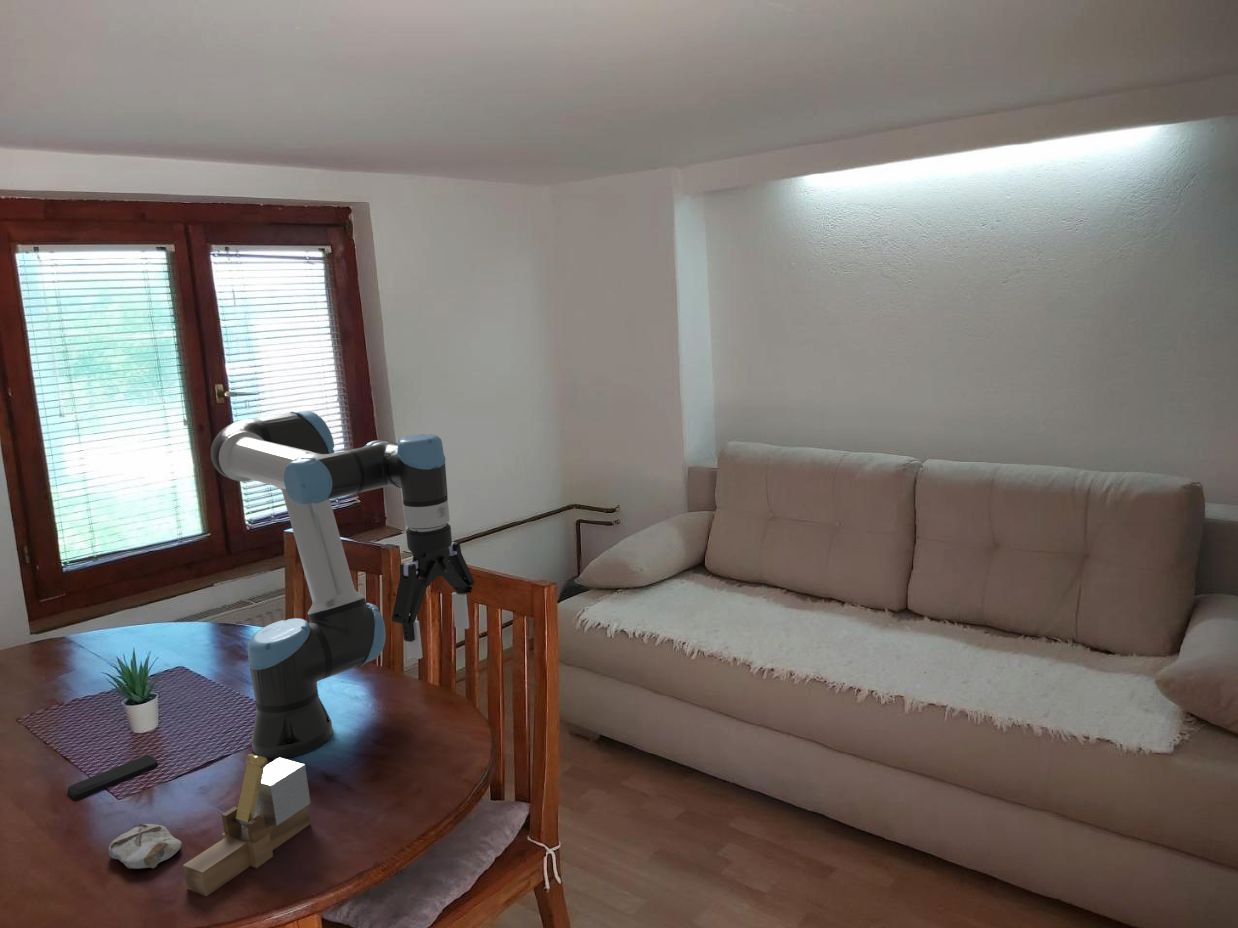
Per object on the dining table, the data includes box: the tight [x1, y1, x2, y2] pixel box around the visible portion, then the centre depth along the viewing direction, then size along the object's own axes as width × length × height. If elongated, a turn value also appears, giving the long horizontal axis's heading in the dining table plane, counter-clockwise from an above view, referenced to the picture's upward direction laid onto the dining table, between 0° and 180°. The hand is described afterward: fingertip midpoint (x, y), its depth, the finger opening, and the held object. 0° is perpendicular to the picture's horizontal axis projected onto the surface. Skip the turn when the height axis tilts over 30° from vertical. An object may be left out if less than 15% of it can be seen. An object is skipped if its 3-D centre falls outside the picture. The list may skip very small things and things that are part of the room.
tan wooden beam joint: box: [182, 805, 311, 898], centre depth 145 cm, size 7×20×7 cm, turn 151°
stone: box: [108, 823, 182, 870], centre depth 148 cm, size 12×9×3 cm
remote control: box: [67, 754, 159, 801], centre depth 173 cm, size 5×2×15 cm
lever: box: [232, 753, 269, 827], centre depth 145 cm, size 4×2×11 cm, turn 61°
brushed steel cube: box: [254, 757, 311, 826], centre depth 150 cm, size 6×7×7 cm
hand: (439, 641), depth 162 cm, fingers open, 13 cm apart
